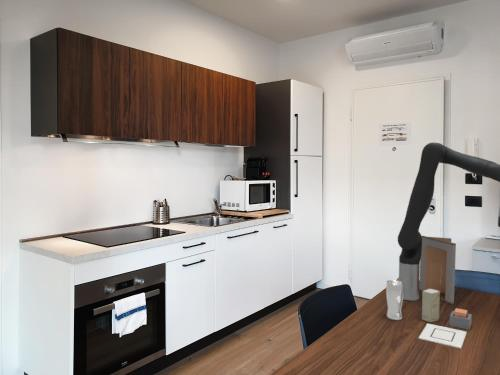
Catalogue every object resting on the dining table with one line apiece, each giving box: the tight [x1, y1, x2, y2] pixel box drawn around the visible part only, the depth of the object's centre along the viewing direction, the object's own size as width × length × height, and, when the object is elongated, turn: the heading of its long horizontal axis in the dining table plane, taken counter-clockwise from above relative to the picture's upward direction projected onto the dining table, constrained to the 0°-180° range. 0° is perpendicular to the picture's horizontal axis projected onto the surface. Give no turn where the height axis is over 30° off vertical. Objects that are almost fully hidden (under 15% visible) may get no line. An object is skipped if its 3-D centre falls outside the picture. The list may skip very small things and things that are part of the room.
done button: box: [453, 307, 468, 318], centre depth 160 cm, size 4×4×2 cm
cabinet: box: [419, 235, 457, 305], centre depth 195 cm, size 21×10×28 cm, turn 17°
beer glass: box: [385, 279, 404, 321], centre depth 168 cm, size 7×7×15 cm
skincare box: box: [421, 289, 441, 324], centre depth 165 cm, size 6×4×12 cm
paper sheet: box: [418, 322, 467, 350], centre depth 150 cm, size 14×16×1 cm
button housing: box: [448, 310, 473, 331], centre depth 160 cm, size 7×7×4 cm
